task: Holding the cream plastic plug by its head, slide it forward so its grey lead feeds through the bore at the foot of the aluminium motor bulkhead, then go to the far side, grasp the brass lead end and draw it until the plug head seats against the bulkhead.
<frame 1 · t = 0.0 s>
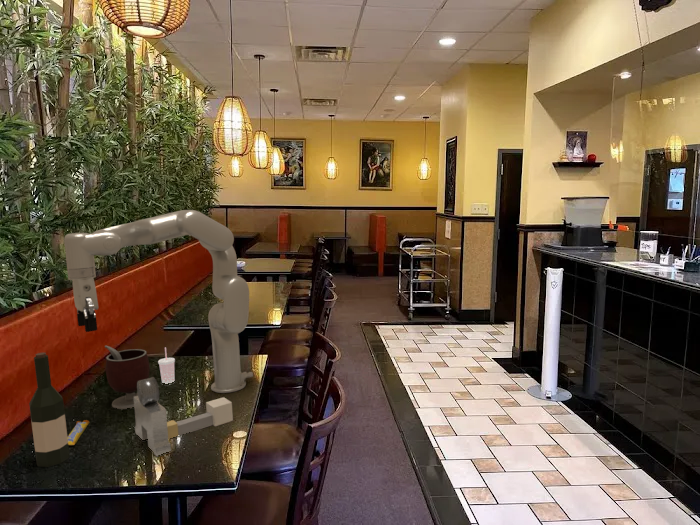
hand: (87, 328, 158), 31 cm above the table, tool pointing down, fingers open, 9 cm apart
beverage cup: (168, 383, 197), on the table
wine bottle: (53, 460, 141), on the table
plug: (220, 420, 162), on the table
candy bar: (75, 437, 155), on the table
mate gourd: (129, 402, 180), on the table
bulkhead: (152, 442, 149), on the table
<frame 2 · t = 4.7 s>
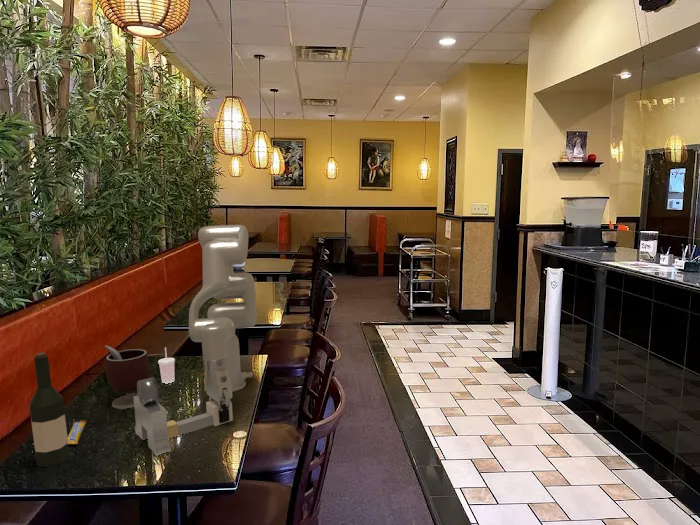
hand: (219, 417, 162), 1 cm above the table, tool pointing down, fingers closed on plug, 5 cm apart
plug: (220, 420, 162), on the table, touching gripper
everything else where it was.
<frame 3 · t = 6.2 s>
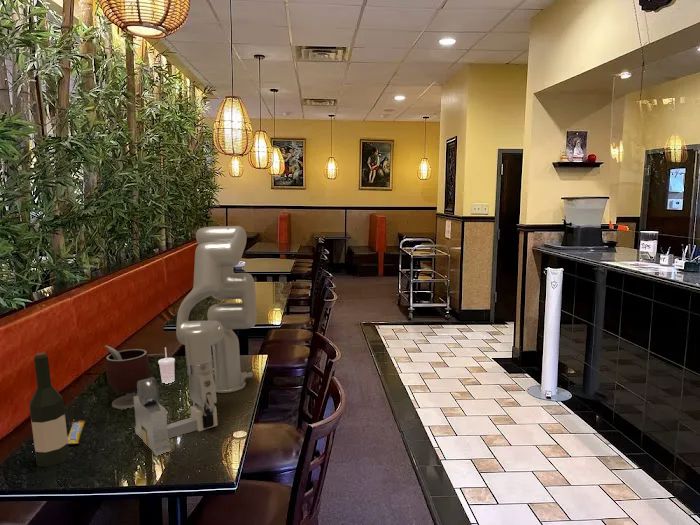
hand: (204, 422, 158), 1 cm above the table, tool pointing down, fingers closed on plug, 5 cm apart
plug: (204, 425, 158), on the table, touching gripper
everything else where it was.
when the fingers open (1 cm above the table, at t = 8.1 s): plug stays where it is, on the table.
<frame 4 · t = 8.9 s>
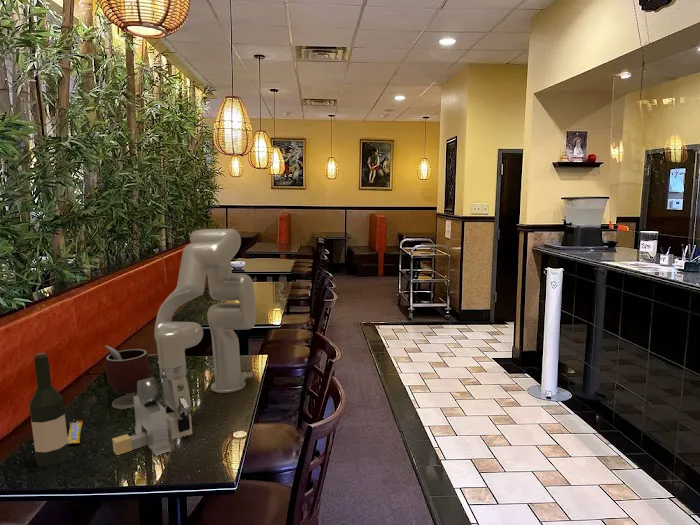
hand: (178, 425, 153), 3 cm above the table, tool pointing down, fingers open, 9 cm apart
plug: (178, 433, 153), on the table
everything else where it was.
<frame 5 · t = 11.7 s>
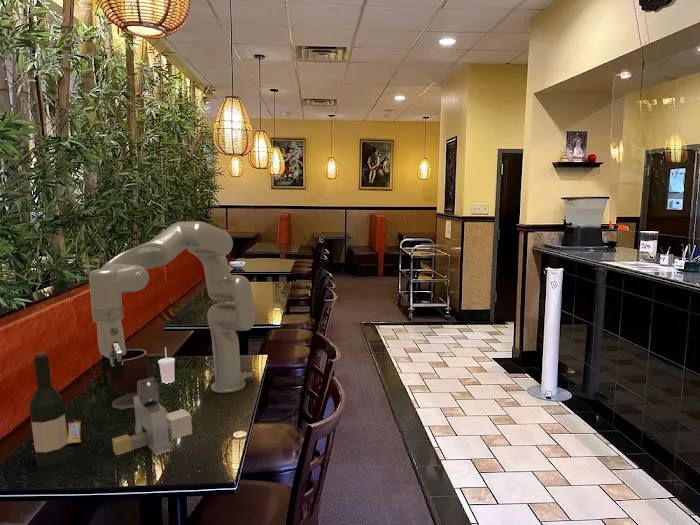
hand: (113, 375, 140), 22 cm above the table, tool pointing down, fingers open, 9 cm apart
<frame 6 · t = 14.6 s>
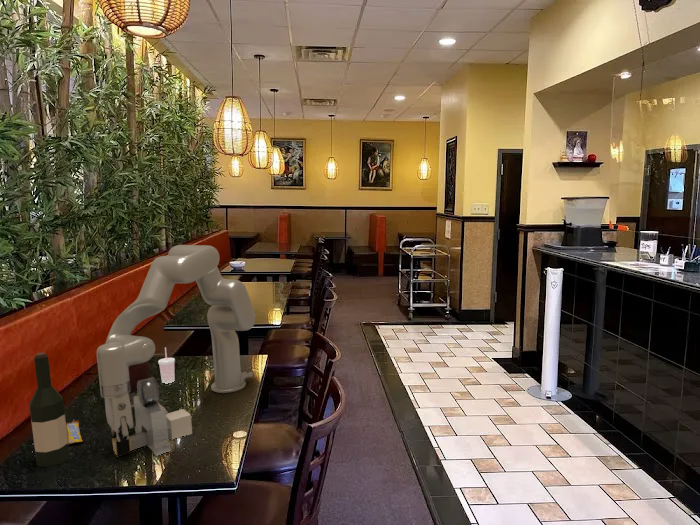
hand: (121, 450, 143), 1 cm above the table, tool pointing down, fingers closed on plug, 3 cm apart
plug: (178, 433, 153), on the table, touching gripper
when the fingers open (1 cm above the table, at t = 15.8 s): plug stays where it is, on the table.
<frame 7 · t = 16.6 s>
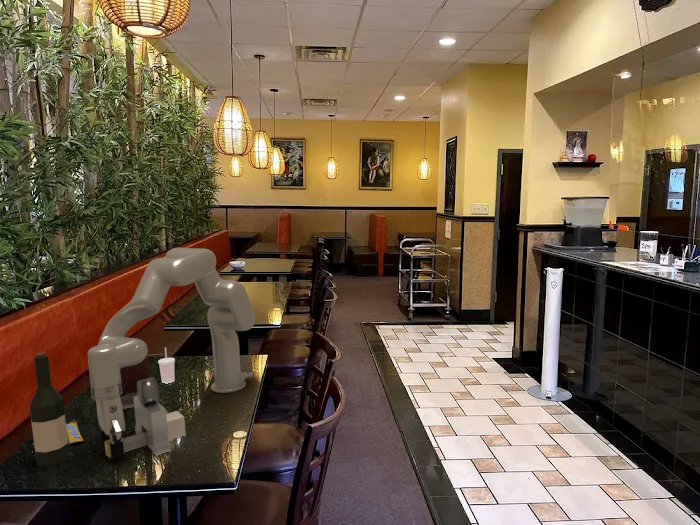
hand: (112, 449, 142), 2 cm above the table, tool pointing down, fingers open, 9 cm apart
plug: (172, 435, 152), on the table
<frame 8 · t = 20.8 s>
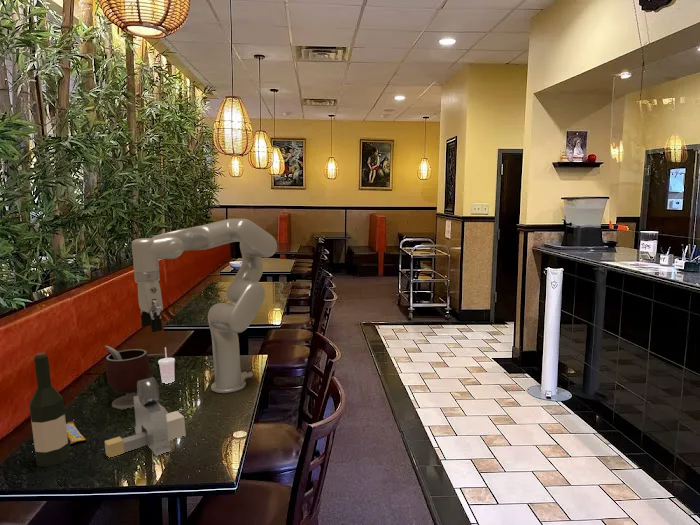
hand: (151, 328, 167), 28 cm above the table, tool pointing down, fingers open, 9 cm apart
at the end: plug 0.2 cm from the target spot, on the table; the gripper is holding nothing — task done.
